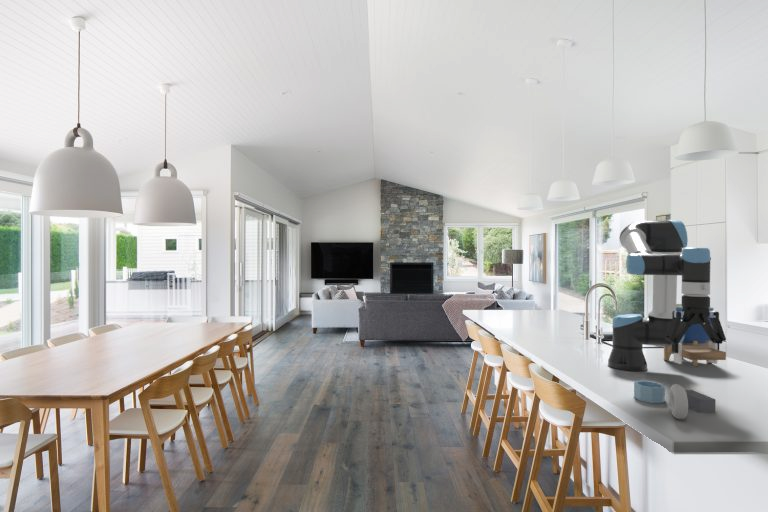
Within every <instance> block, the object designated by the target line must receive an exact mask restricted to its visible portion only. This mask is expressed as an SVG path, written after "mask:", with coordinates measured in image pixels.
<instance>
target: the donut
mask: <svg viewBox="0 0 768 512" xmlns="http://www.w3.org/2000/svg"><path fill="white" fill-rule="evenodd" d="M685 390H686V389H685V387H684V386H682V385H681V384H677V383H675V384H672V385H671V386H670V388H669V392H668V395H669V396H668V401H669V408H670V411H671V415H672V416H673V417H674V418H676V419H678V420H684V419H686V418H687V416H688V413H689V407H688V398H687V394H686V391H685Z"/></svg>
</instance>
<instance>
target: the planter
mask: <svg viewBox="0 0 768 512" xmlns="http://www.w3.org/2000/svg"><path fill="white" fill-rule="evenodd" d="M682 310H683V307H682V303H676V311H678V312H682ZM709 311H714V307H713V306H711V305H710V307H709ZM683 318H684V317H682V318H681V320H682V319H683ZM707 319H708V320H709V322H710V323H711V321H710V317H708V318H707ZM710 325H711V327H712V324H710ZM712 328H713V327H712ZM709 342H712V341H711V339H710V338H709V336H708V335H707V333H706V332H705V330H704V329H703V327H702V326H701V325H700V324H692V326H690V327H689V328H688V330H687V331H686V333H685V336H684V339H683V342H682V343H681V344H682V345H702V346H705V347H709ZM671 355H673V354H672V353H669V352H667V347H666V346H663V360H664V361H665V360H669V361H670V357H671ZM682 359H684V357H682ZM691 361H692V363H691V364H692V366H693V367H694V366H698V365H699V364H698V362H699V360H691ZM705 363H706V364H708V363H711V362H709V360H705ZM698 367H699V366H698Z"/></svg>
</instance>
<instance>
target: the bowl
mask: <svg viewBox="0 0 768 512" xmlns="http://www.w3.org/2000/svg"><path fill="white" fill-rule="evenodd" d="M633 397H634V399H636V400H639V401H641V402H645V403H650V404H663V403H664V402H665V401H666V386H665V385H664V384H662V383H660V382H656V381H651V380H636V381H634V382H633Z"/></svg>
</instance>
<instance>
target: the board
mask: <svg viewBox="0 0 768 512" xmlns="http://www.w3.org/2000/svg"><path fill="white" fill-rule="evenodd" d="M667 352H669V353H672V354H671V355H674V353H673V352H672V345H667ZM682 357H683V359H684V358H685V359H687V360H690V361H692V360H698V361H706V360H717V361H725V360H727V352H726V351H722V350H720V349H719V350H716V349H712V348H709V347H705V346H702V345H682Z"/></svg>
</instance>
